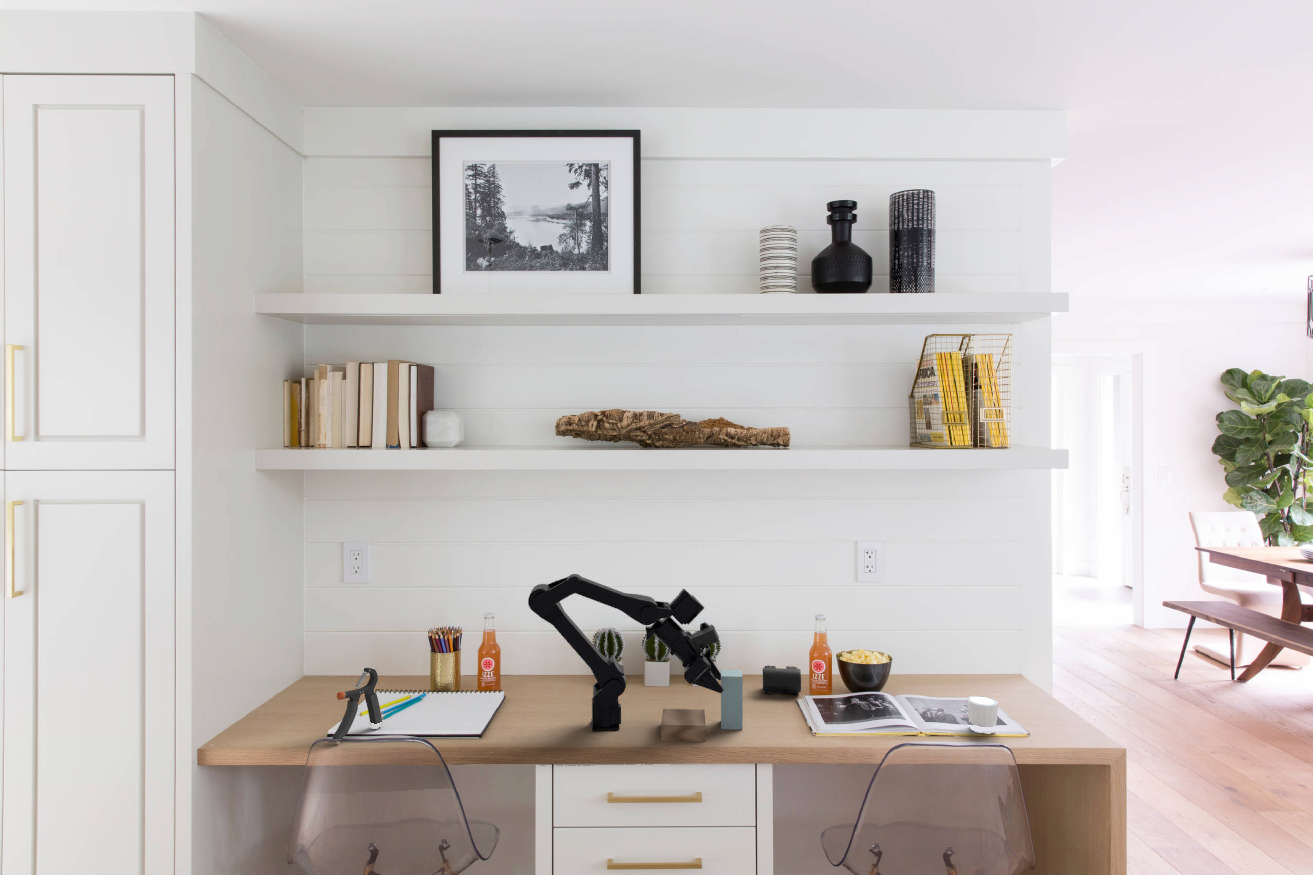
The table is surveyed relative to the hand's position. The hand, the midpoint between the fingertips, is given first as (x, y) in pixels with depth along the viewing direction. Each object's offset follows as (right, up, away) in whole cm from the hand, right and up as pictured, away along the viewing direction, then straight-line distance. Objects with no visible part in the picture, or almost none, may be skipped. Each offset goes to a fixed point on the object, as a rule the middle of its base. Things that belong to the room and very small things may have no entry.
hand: (721, 685), depth 180 cm
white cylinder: (+61, -10, -3) cm, 62 cm away
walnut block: (-9, -10, -4) cm, 14 cm away
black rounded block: (+18, -10, +23) cm, 31 cm away
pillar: (+2, -10, 0) cm, 10 cm away
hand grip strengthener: (-85, -10, -6) cm, 85 cm away
